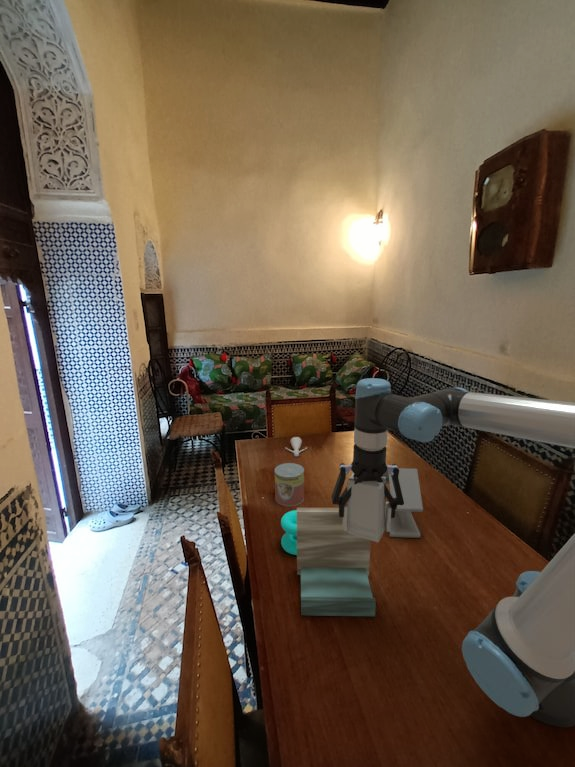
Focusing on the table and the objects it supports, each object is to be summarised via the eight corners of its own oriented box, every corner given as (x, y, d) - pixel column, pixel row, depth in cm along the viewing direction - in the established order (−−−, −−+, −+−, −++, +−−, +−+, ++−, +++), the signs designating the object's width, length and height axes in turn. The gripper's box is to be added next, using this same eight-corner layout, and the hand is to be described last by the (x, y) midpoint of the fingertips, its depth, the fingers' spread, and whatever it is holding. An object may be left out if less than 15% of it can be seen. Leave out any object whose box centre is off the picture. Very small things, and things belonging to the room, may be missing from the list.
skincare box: (385, 530, 90) (388, 476, 86) (378, 544, 85) (381, 488, 81) (353, 520, 94) (355, 468, 90) (344, 533, 89) (346, 479, 85)
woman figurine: (307, 434, 189) (308, 451, 171) (307, 442, 190) (308, 459, 173) (285, 435, 189) (284, 451, 172) (285, 442, 190) (284, 460, 173)
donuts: (274, 520, 108) (292, 504, 116) (274, 548, 111) (292, 531, 119) (302, 532, 103) (319, 514, 111) (302, 561, 105) (319, 542, 113)
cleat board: (379, 616, 87) (383, 545, 82) (297, 615, 88) (296, 545, 83) (367, 570, 102) (370, 508, 97) (297, 569, 102) (296, 507, 97)
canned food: (270, 503, 135) (270, 474, 132) (280, 488, 145) (279, 461, 142) (299, 508, 131) (299, 479, 128) (307, 492, 142) (307, 465, 139)
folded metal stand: (420, 539, 114) (425, 482, 109) (390, 538, 115) (393, 482, 110) (406, 506, 132) (409, 456, 127) (380, 505, 133) (382, 455, 128)
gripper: (413, 438, 86) (407, 519, 92) (321, 437, 87) (320, 517, 93) (424, 452, 79) (416, 538, 85) (322, 451, 80) (321, 536, 86)
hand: (365, 527), depth 89 cm, fingers closed on skincare box, 10 cm apart
